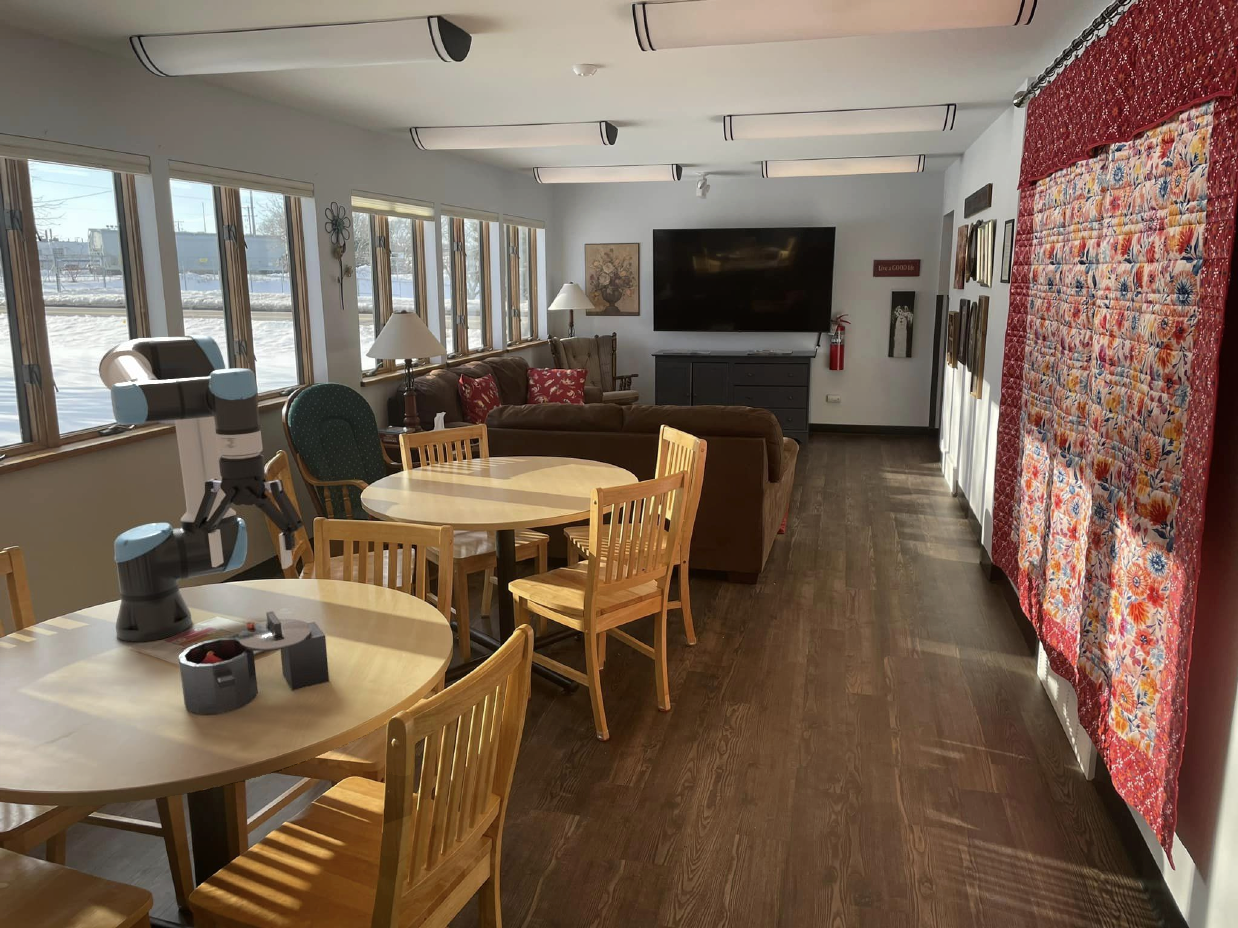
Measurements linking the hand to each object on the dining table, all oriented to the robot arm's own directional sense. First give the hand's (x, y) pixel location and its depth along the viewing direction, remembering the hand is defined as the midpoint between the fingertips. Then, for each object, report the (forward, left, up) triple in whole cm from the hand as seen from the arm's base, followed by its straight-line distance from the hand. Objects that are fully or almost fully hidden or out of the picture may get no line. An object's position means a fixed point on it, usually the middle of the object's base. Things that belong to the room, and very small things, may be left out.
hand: (252, 565), depth 167 cm
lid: (0, +3, -15) cm, 15 cm away
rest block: (0, +8, -25) cm, 26 cm away
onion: (-1, -9, -24) cm, 26 cm away
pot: (0, -8, -25) cm, 26 cm away
